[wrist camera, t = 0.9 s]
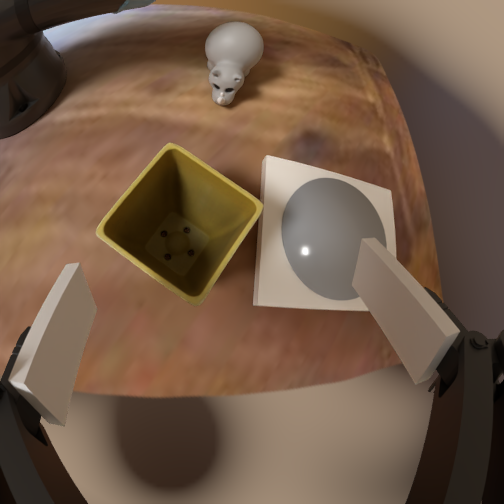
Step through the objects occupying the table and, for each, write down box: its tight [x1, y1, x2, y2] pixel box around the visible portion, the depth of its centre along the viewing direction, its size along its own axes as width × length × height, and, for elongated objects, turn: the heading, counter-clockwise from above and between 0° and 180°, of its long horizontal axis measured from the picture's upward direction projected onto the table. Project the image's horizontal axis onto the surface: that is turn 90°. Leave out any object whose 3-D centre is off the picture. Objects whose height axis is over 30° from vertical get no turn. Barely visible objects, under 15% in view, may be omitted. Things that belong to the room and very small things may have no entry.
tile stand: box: [253, 155, 396, 311], centre depth 31 cm, size 16×18×2 cm
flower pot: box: [96, 143, 264, 306], centre depth 23 cm, size 9×9×9 cm
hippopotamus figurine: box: [205, 22, 264, 105], centre depth 29 cm, size 7×12×8 cm, turn 173°
